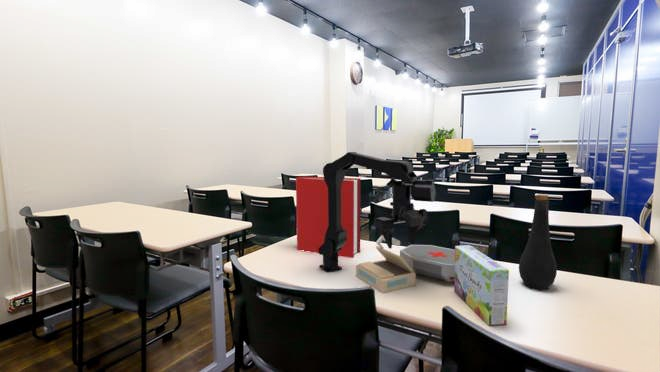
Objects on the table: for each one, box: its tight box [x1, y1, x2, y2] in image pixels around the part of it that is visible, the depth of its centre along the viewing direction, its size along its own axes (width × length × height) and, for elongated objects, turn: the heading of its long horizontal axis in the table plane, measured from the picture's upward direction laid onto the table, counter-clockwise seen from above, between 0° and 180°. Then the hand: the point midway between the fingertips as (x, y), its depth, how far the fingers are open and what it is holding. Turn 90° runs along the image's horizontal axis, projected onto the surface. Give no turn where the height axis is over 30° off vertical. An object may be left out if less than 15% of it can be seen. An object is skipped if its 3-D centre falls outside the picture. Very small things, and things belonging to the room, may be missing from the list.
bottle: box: [518, 193, 558, 291], centre depth 111 cm, size 11×11×30 cm
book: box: [295, 175, 362, 259], centre depth 149 cm, size 27×8×32 cm, turn 66°
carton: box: [355, 258, 416, 294], centre depth 118 cm, size 16×13×5 cm
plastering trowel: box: [375, 234, 414, 273], centre depth 119 cm, size 14×11×5 cm
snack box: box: [453, 244, 510, 327], centre depth 98 cm, size 21×6×15 cm, turn 4°
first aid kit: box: [399, 244, 455, 283], centre depth 124 cm, size 18×8×25 cm
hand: (401, 246), depth 115 cm, fingers open, 9 cm apart
